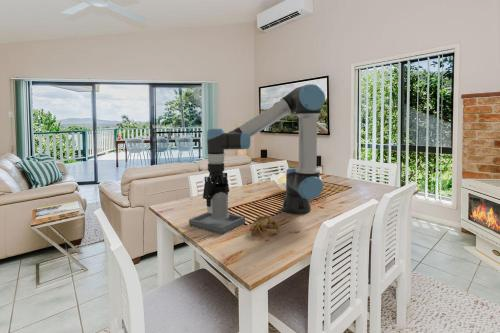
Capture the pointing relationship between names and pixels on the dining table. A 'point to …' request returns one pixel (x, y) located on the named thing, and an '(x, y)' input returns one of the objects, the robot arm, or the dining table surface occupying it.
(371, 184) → the dining table surface
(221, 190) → the glass holder
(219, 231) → the grey square tray
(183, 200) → the dining table surface
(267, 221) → the crab model
